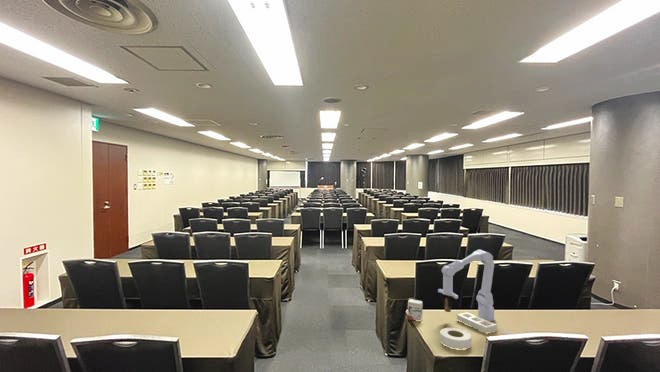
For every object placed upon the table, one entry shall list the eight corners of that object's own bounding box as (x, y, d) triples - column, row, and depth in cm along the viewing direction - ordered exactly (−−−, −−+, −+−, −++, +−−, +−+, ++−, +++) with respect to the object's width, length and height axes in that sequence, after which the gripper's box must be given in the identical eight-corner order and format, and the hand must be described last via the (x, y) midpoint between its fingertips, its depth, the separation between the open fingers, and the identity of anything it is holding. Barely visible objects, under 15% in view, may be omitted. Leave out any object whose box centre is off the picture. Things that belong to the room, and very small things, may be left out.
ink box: (407, 319, 207) (407, 301, 207) (409, 316, 211) (409, 298, 211) (420, 322, 203) (421, 303, 203) (422, 319, 207) (422, 301, 207)
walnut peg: (447, 309, 207) (447, 297, 207) (451, 311, 204) (451, 298, 204) (443, 310, 206) (443, 297, 206) (447, 312, 203) (447, 299, 203)
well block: (466, 318, 209) (466, 312, 209) (496, 331, 191) (496, 324, 191) (456, 320, 205) (456, 314, 205) (486, 334, 187) (486, 327, 187)
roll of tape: (435, 337, 183) (435, 327, 183) (462, 336, 184) (462, 326, 184) (447, 351, 167) (447, 340, 167) (476, 350, 169) (477, 339, 169)
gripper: (434, 283, 210) (434, 304, 210) (452, 289, 197) (452, 311, 197) (442, 281, 213) (442, 302, 213) (460, 287, 200) (460, 309, 200)
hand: (447, 306), depth 205 cm, fingers closed on walnut peg, 3 cm apart
